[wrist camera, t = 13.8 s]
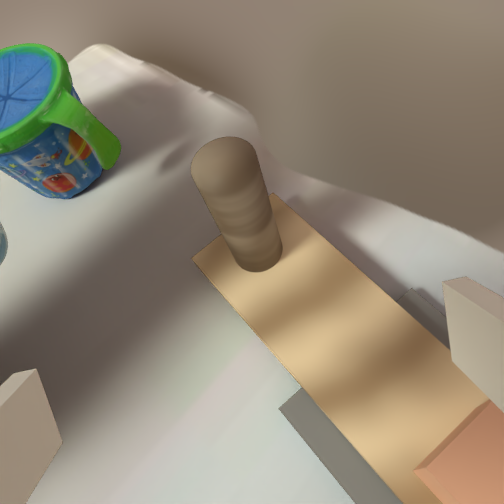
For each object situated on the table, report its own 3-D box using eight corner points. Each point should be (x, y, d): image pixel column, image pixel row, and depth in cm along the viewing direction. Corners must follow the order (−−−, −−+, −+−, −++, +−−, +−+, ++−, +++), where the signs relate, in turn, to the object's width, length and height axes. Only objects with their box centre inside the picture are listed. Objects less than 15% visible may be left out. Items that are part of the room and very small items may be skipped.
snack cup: (-17, 188, 45) (-109, 114, 36) (49, 111, 48) (-20, 26, 39) (98, 242, 39) (23, 170, 30) (164, 150, 42) (114, 61, 33)
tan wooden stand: (196, 265, 34) (134, 177, 25) (275, 200, 36) (246, 93, 26) (528, 648, 21) (678, 786, 11) (635, 526, 22) (851, 556, 13)
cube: (412, 470, 24) (426, 467, 20) (475, 407, 25) (501, 391, 21) (492, 558, 22) (527, 576, 18) (559, 486, 23) (608, 486, 18)
